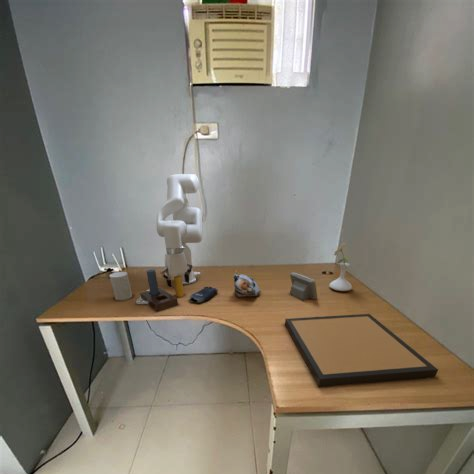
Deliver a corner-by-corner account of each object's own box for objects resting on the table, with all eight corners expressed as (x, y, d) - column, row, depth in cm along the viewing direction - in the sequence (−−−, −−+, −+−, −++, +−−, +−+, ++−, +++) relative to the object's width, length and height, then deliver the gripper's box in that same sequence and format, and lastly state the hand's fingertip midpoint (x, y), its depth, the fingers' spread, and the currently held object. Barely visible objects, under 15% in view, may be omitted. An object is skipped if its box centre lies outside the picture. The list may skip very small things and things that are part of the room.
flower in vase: (339, 284, 143) (348, 238, 131) (356, 290, 134) (366, 242, 122) (321, 288, 138) (329, 241, 126) (337, 295, 129) (347, 245, 117)
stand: (161, 293, 133) (160, 287, 132) (178, 304, 121) (177, 298, 119) (141, 299, 127) (139, 292, 126) (156, 311, 115) (155, 304, 113)
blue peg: (157, 297, 129) (153, 268, 122) (161, 299, 126) (156, 270, 119) (150, 299, 127) (144, 270, 120) (153, 301, 124) (148, 272, 117)
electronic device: (202, 293, 136) (185, 300, 123) (203, 283, 134) (186, 289, 121) (217, 298, 133) (201, 306, 120) (219, 288, 131) (203, 295, 118)
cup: (126, 300, 126) (120, 277, 120) (111, 299, 127) (105, 276, 122) (135, 294, 133) (130, 272, 127) (121, 293, 134) (116, 271, 129)
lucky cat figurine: (265, 294, 130) (263, 276, 119) (247, 308, 127) (243, 290, 116) (247, 279, 138) (243, 260, 127) (230, 291, 135) (224, 273, 124)
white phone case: (151, 304, 121) (161, 292, 134) (150, 301, 120) (160, 290, 134) (136, 304, 122) (147, 292, 135) (135, 301, 121) (147, 289, 134)
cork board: (318, 386, 71) (434, 377, 74) (320, 379, 70) (438, 369, 73) (285, 324, 103) (367, 319, 106) (285, 318, 101) (369, 313, 104)
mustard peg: (181, 293, 134) (179, 275, 129) (185, 295, 131) (183, 277, 126) (174, 295, 131) (172, 276, 127) (178, 297, 129) (175, 278, 124)
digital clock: (318, 300, 124) (321, 279, 119) (302, 302, 121) (305, 281, 116) (300, 288, 137) (302, 269, 132) (285, 291, 135) (287, 271, 130)
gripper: (186, 246, 128) (189, 278, 136) (154, 252, 118) (159, 286, 127) (194, 249, 123) (197, 282, 131) (161, 255, 113) (166, 290, 121)
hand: (178, 284), depth 129 cm, fingers open, 9 cm apart
